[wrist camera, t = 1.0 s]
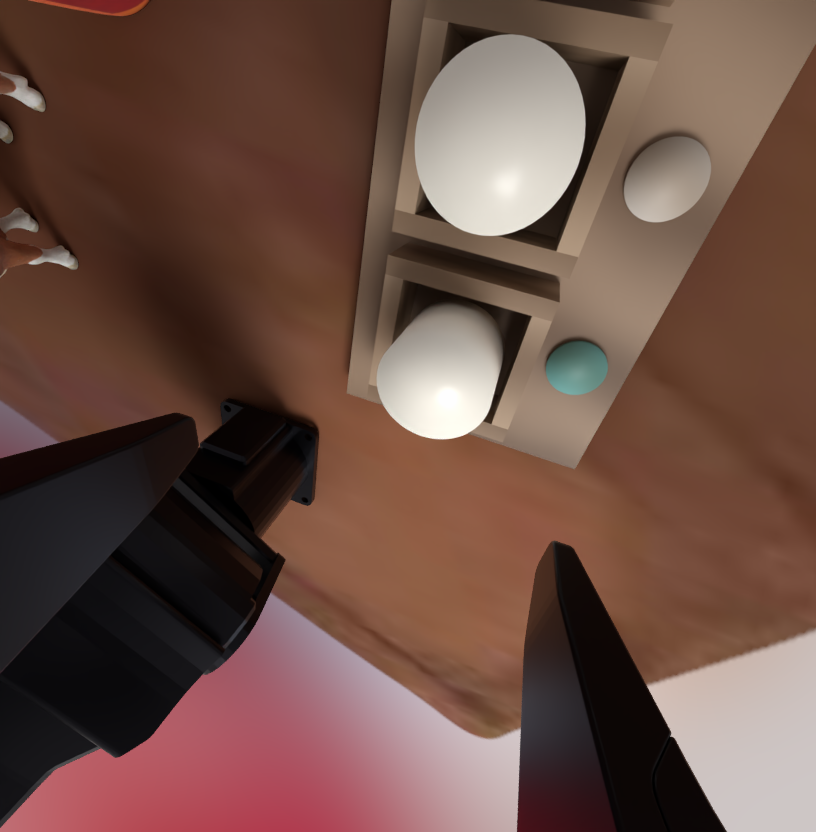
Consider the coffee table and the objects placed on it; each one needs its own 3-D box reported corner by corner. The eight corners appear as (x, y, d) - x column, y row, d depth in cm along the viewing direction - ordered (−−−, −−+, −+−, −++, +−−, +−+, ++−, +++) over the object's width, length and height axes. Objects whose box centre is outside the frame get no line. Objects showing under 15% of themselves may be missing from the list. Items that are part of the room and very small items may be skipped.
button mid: (549, 231, 14) (546, 252, 11) (434, 201, 14) (402, 215, 11) (603, 77, 11) (618, 53, 9) (464, 49, 12) (433, 18, 9)
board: (574, 456, 21) (576, 504, 18) (354, 384, 23) (325, 417, 20) (1148, -583, 7) (1529, -1057, 4) (473, -568, 9) (432, -903, 6)
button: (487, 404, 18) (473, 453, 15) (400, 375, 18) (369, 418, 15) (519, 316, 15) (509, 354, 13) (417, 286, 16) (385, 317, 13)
